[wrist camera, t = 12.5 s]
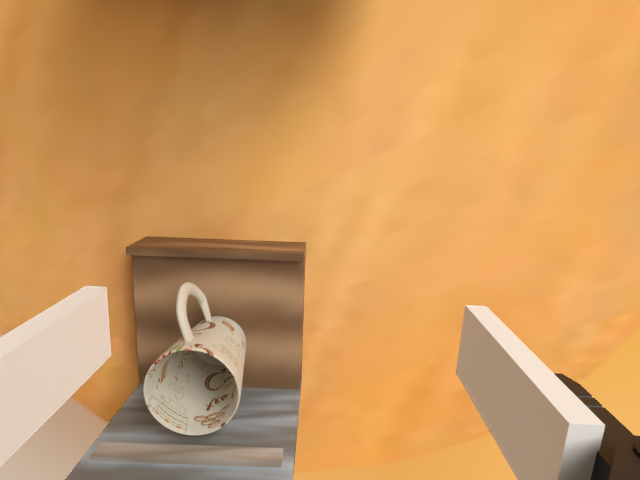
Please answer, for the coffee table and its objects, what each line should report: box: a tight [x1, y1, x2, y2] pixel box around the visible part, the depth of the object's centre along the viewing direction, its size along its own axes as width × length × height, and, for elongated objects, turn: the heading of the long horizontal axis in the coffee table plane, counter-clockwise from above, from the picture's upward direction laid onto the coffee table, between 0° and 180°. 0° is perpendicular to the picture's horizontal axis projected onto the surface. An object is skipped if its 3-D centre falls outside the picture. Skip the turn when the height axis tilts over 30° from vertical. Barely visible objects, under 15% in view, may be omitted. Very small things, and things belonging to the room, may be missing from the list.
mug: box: [143, 282, 246, 435], centre depth 40 cm, size 8×13×10 cm, turn 14°
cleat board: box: [65, 237, 306, 480], centre depth 39 cm, size 18×18×20 cm
